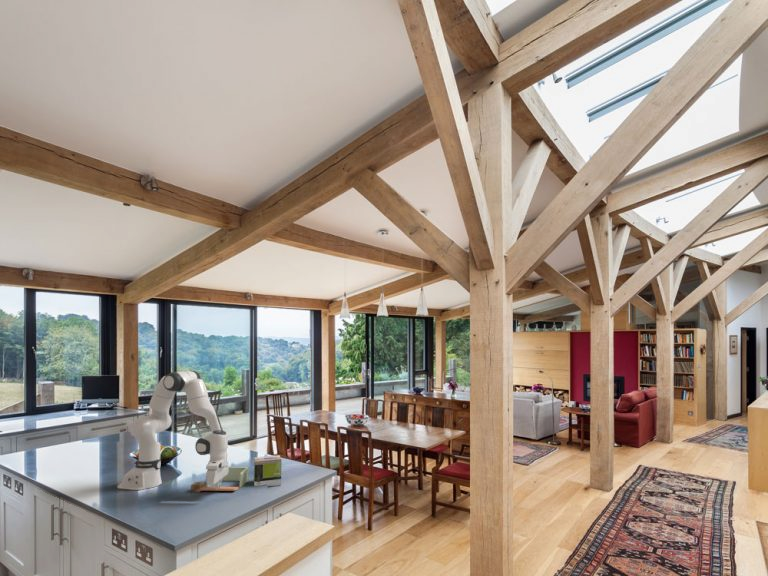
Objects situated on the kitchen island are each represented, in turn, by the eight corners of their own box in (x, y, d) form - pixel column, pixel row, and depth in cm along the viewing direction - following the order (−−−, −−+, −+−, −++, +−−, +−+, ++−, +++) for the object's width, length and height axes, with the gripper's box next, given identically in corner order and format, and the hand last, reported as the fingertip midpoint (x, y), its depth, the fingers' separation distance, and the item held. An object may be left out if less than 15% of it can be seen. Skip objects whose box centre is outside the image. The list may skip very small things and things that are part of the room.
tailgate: (205, 489, 243) (200, 490, 236) (206, 486, 243) (200, 488, 236) (238, 489, 242) (234, 491, 235) (239, 486, 243) (234, 488, 236)
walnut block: (190, 494, 236) (191, 485, 236) (194, 491, 241) (195, 481, 241) (199, 494, 236) (200, 485, 236) (203, 491, 241) (204, 482, 241)
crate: (205, 489, 244) (206, 473, 245) (214, 481, 256) (215, 466, 257) (241, 489, 244) (241, 473, 245) (248, 482, 256) (248, 467, 257)
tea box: (279, 480, 259) (280, 454, 261) (281, 485, 250) (282, 459, 252) (253, 482, 255) (254, 456, 256) (253, 488, 245) (254, 461, 247)
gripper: (220, 456, 248) (220, 482, 246) (204, 467, 228) (203, 495, 226) (231, 456, 248) (231, 482, 246) (216, 467, 227) (215, 495, 226)
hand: (217, 488), depth 236 cm, fingers closed, pressing on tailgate
